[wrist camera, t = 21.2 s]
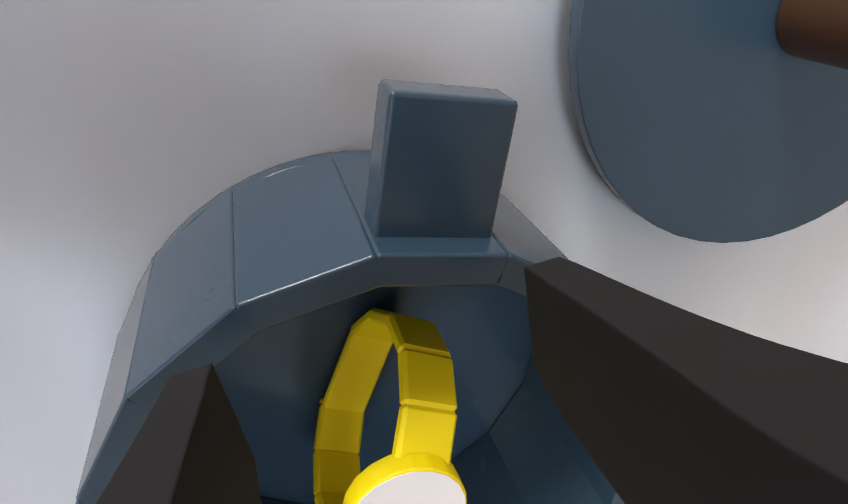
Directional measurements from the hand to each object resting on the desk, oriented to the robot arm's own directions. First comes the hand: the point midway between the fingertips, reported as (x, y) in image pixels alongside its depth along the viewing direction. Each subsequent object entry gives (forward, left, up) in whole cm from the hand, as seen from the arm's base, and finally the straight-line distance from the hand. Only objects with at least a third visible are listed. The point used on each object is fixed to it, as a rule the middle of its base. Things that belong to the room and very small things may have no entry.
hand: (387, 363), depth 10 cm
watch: (+5, -3, -8) cm, 9 cm away
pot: (+5, -3, -8) cm, 10 cm away
